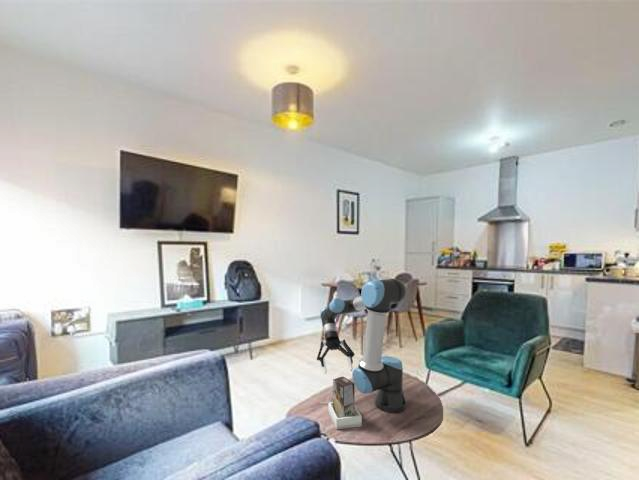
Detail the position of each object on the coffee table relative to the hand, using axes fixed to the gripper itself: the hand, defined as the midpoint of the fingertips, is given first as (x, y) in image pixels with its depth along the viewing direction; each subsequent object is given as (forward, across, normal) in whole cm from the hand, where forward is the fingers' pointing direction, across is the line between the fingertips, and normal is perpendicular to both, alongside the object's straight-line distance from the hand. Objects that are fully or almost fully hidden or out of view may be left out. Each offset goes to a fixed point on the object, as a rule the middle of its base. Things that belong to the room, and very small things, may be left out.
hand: (338, 371), depth 162 cm
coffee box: (+21, +2, 0) cm, 21 cm away
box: (+22, +2, -1) cm, 22 cm away
